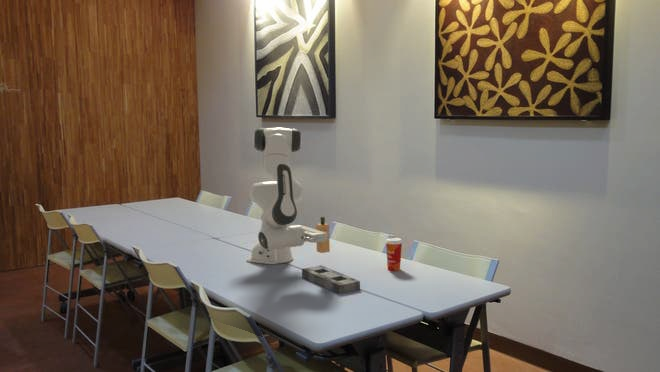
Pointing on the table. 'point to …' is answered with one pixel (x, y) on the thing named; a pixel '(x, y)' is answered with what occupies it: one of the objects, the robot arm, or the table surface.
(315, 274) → the grey socket board
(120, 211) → the table surface
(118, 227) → the table surface
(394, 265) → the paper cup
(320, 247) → the plug
